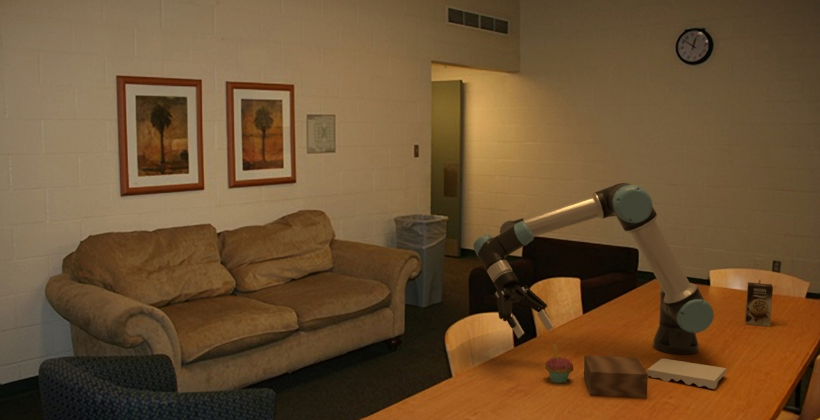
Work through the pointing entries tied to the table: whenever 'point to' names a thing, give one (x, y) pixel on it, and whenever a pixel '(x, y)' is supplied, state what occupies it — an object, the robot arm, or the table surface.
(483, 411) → the table surface
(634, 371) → the riser
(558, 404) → the table surface
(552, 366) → the cupcake
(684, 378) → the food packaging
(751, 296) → the cookie box
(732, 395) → the table surface
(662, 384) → the table surface
